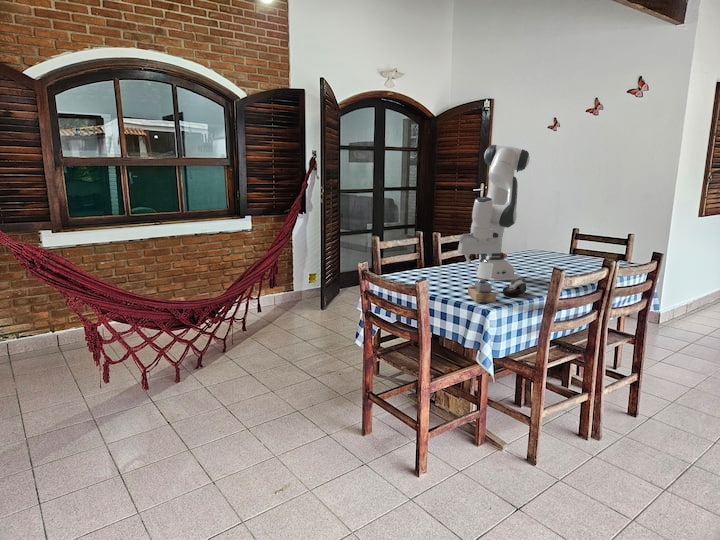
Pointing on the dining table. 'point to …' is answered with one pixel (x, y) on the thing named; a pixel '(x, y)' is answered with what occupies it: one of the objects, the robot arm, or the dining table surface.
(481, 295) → the stand
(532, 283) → the dining table surface
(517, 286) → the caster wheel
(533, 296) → the dining table surface
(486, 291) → the housing
